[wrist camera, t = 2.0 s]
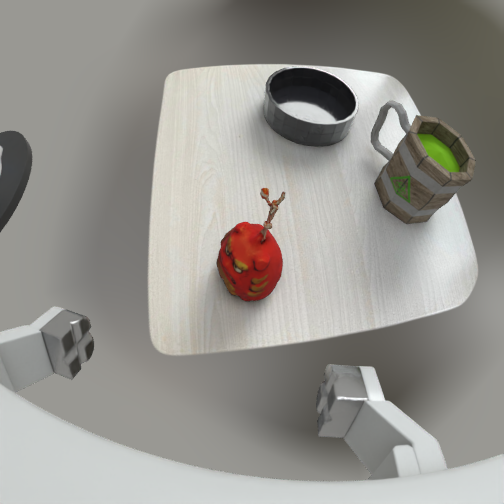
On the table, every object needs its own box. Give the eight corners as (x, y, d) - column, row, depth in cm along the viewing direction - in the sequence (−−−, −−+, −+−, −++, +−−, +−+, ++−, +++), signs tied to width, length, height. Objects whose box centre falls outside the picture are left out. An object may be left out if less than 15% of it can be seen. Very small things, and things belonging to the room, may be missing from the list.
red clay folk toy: (207, 260, 36) (189, 196, 22) (256, 232, 38) (267, 157, 24) (241, 314, 34) (244, 280, 20) (291, 282, 36) (326, 230, 22)
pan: (252, 130, 44) (253, 107, 39) (275, 79, 49) (278, 58, 44) (344, 158, 43) (354, 137, 38) (353, 102, 48) (361, 82, 43)
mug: (444, 207, 41) (486, 166, 30) (406, 238, 39) (453, 196, 28) (384, 135, 45) (411, 85, 34) (340, 155, 43) (365, 98, 32)
